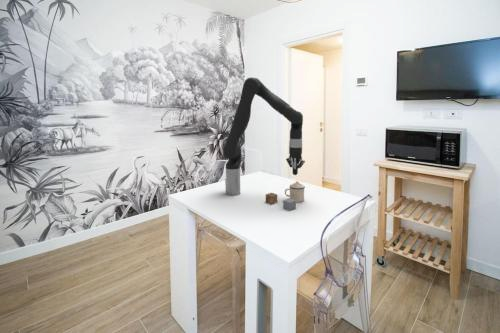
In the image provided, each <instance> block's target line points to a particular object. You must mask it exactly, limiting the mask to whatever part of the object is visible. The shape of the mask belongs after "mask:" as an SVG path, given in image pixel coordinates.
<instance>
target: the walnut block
mask: <svg viewBox="0 0 500 333" xmlns="http://www.w3.org/2000/svg"><path fill="white" fill-rule="evenodd" d="M265 203H266V204H270V205H273V204H276V203H278V194H277V193H274V192H268V193H266V194H265Z"/></svg>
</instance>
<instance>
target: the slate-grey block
mask: <svg viewBox="0 0 500 333" xmlns="http://www.w3.org/2000/svg"><path fill="white" fill-rule="evenodd" d="M282 202H283V204H282V208H283V210H286V211H288V212H291V211H293V210H296V209H297V207H296V206H297V202H296V200H293V199H290V197H289V198H286V199H283V200H282Z"/></svg>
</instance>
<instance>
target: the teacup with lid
mask: <svg viewBox="0 0 500 333" xmlns="http://www.w3.org/2000/svg"><path fill="white" fill-rule="evenodd" d="M287 191H289V194H287ZM284 194H285V196H286V197H289V198H290V199H293V200H296V203H302V202H304V201H305V185H304V184H302V183H300V181H298V180H297V181H295V182H294V183H291V184H290V185H289V188H286V189H285V190H284Z"/></svg>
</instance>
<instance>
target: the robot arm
mask: <svg viewBox="0 0 500 333" xmlns="http://www.w3.org/2000/svg"><path fill="white" fill-rule="evenodd" d="M240 95H241V96H240V99H239V102H238V105H237V108H236V112H235V114H234V118H233V121H232V124H231V128H230V131H229V133H228V137H227V140H226V141H225V142H224V143H225V144H224V145H223V148H222V153H223V156H224V158H226V159H228V160H227V162H226V163H225V180H224V181H225V193H226V194H227V196H238V195H240V194H241V163H242V147H241V146H240V144H239V140H240V139H241V137H242V135H243V134H245V131H246V129H247V128H248V125H249V122H250V120H251V113H252V104H253V101H254V98H255V96H258V97H259V98H262V99H263V100H264V101H265V102H266V103H267V104H268V105H269V106H270V107H271V108H272V109H273V110H275V111H276V112H278V113H279V114H280V115H282V116H283V117H284V118H285V119H286V120H288V121H289V123H290V130H289V142H288V144H289V145H288V154H289V156H288V157H287V158H286V159H285V160H286V162H287V164H288V166H289V167H290V168H291V169H292V175H294V176H297V175H298V172H299V171H298V170H299V169H301V168H302V167H303V165H304V164H305V163H306V160H303V157H302V155H303V124H304V116H303V114H302V112H301V111H297V110H296V109H294V108H293V107H292V106H291V105H290V104H289V103H287V102H286V101H285V100H284V99H282V98H281V97H279V96H278V95H277V94H275V93H274V92H272V91H271V90H270V89H269V88H267V86H265V84H264V83H263V82H262V81H261V80H260V79H259V78H257V77H248V78H247V79H246V80H245V81H244V82H243V84H242V89H241V94H240Z"/></svg>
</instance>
